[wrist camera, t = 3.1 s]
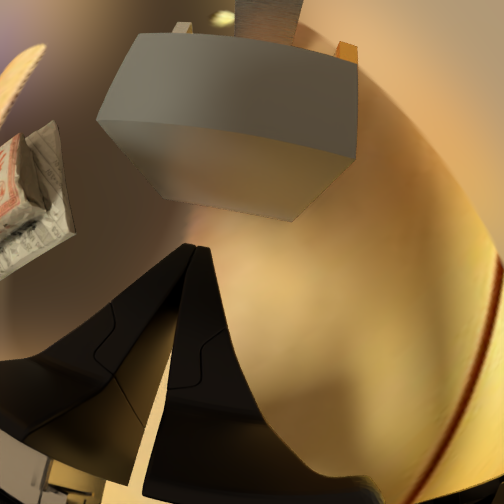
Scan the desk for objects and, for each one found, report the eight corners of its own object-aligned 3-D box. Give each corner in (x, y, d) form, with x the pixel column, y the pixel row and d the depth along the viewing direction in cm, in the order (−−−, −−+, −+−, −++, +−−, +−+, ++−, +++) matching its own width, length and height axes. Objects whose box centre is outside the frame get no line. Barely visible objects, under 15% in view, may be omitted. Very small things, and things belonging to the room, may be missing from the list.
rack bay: (328, 185, 18) (383, 130, 10) (148, 153, 18) (103, 85, 10) (337, 73, 19) (372, 4, 11) (188, 48, 19) (175, -27, 11)
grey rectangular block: (291, 222, 18) (355, 159, 8) (163, 199, 17) (95, 119, 8) (301, 157, 18) (357, 57, 8) (180, 136, 18) (142, 27, 8)
